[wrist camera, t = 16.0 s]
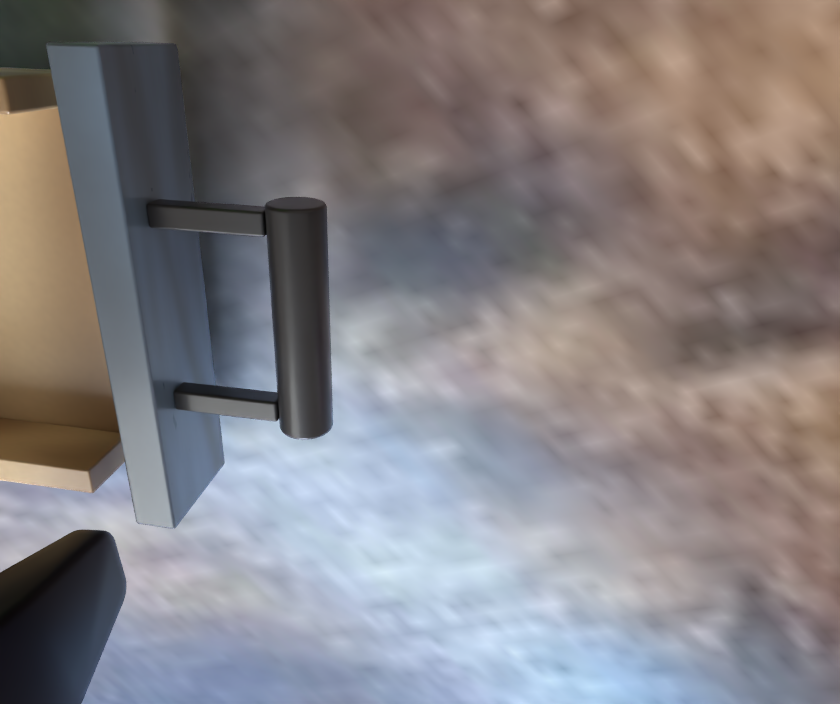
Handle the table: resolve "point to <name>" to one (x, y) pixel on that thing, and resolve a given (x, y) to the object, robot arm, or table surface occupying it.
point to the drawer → (133, 286)
